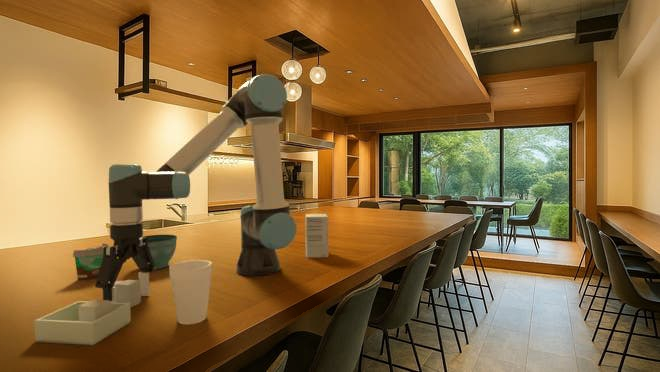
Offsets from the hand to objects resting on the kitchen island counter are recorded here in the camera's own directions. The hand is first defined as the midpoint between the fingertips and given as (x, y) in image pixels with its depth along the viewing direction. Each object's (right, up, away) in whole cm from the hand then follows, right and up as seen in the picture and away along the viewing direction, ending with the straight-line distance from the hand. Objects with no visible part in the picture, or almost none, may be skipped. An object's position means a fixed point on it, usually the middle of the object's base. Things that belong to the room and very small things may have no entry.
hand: (128, 303), depth 95 cm
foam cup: (+20, -1, -10) cm, 23 cm away
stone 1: (+2, 0, -16) cm, 16 cm away
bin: (0, -1, -16) cm, 16 cm away
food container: (-25, 0, +26) cm, 37 cm away
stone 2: (-6, 0, +3) cm, 6 cm away
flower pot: (-12, +1, +38) cm, 40 cm away
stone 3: (0, 0, 0) cm, 0 cm away
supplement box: (+48, +2, +55) cm, 73 cm away
